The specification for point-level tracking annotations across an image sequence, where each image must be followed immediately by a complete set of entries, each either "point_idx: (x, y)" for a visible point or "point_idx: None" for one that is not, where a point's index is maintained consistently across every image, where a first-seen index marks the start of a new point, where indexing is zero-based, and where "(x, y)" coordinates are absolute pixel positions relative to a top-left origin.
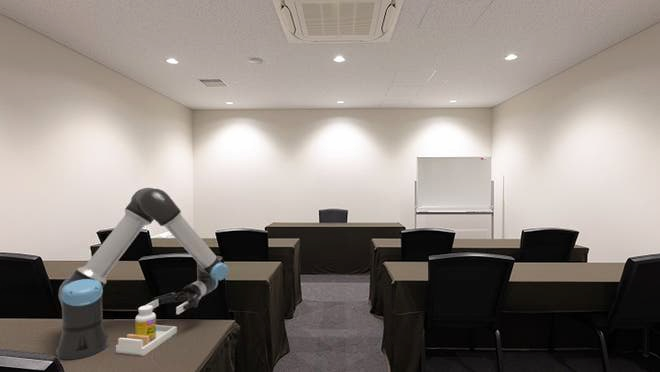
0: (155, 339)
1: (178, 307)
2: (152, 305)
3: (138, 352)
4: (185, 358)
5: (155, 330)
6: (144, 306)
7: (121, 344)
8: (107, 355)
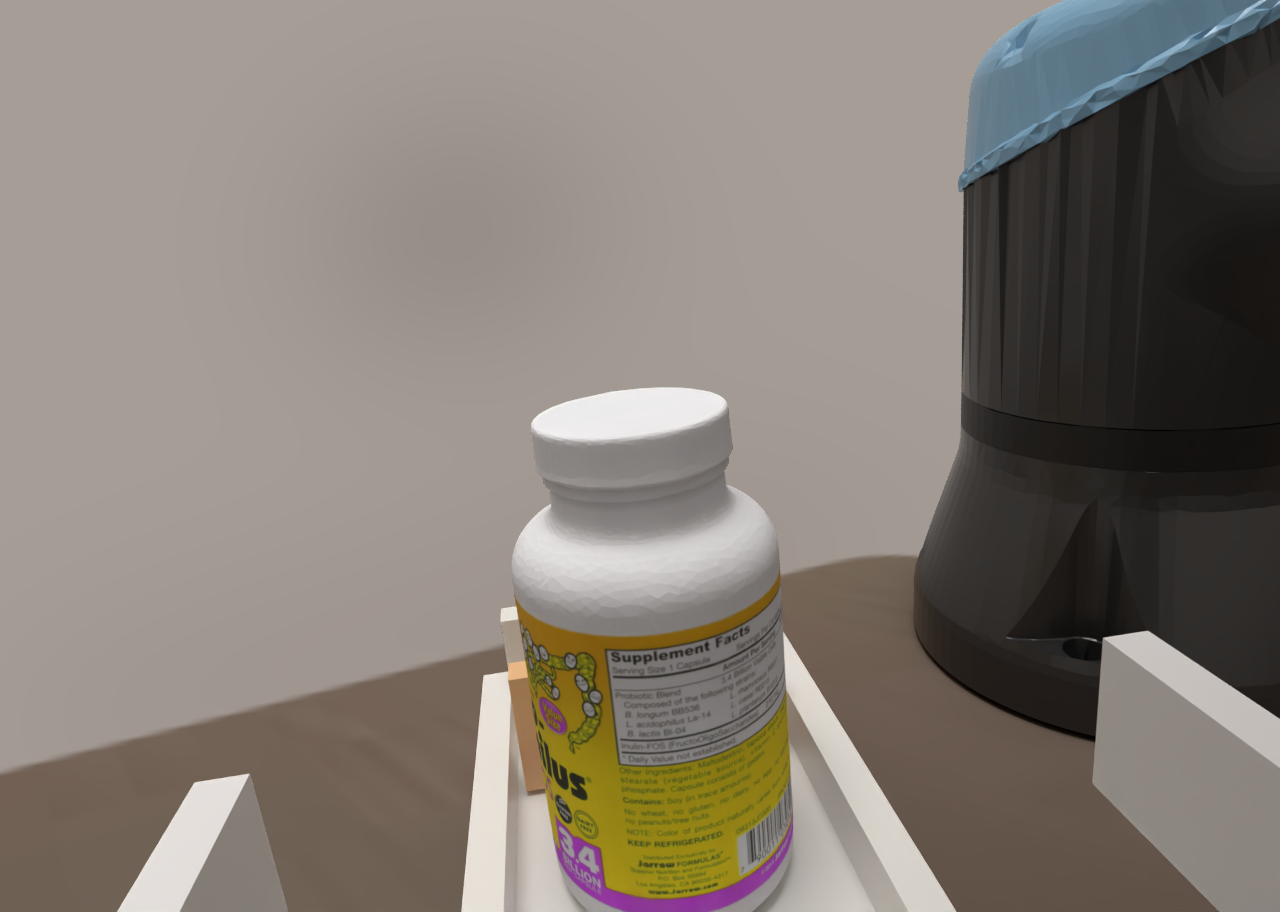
0: (495, 799)
1: (187, 807)
2: (1249, 840)
3: None
4: (40, 836)
5: (549, 776)
6: (680, 411)
7: None
8: (803, 654)
